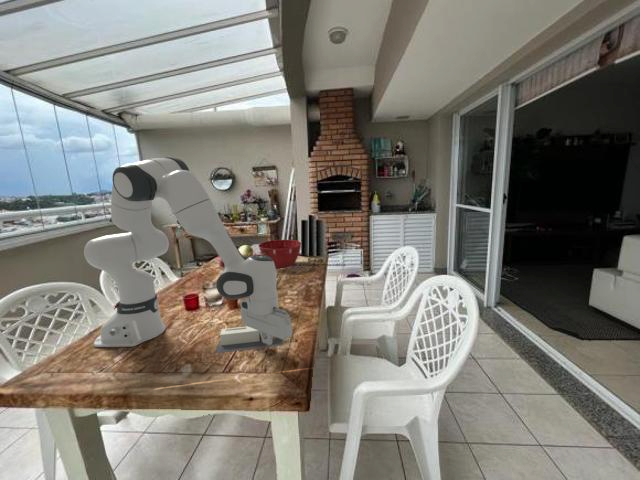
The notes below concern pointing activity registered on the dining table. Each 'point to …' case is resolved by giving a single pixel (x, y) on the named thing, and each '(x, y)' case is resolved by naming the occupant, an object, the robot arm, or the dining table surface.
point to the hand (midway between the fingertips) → (267, 343)
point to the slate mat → (256, 345)
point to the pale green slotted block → (239, 335)
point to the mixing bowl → (281, 252)
